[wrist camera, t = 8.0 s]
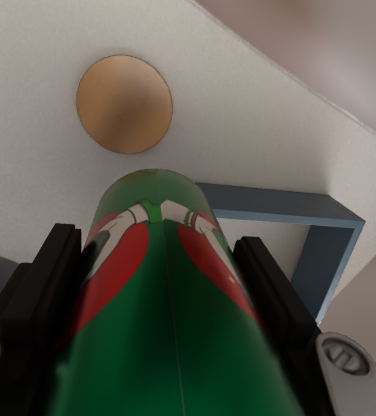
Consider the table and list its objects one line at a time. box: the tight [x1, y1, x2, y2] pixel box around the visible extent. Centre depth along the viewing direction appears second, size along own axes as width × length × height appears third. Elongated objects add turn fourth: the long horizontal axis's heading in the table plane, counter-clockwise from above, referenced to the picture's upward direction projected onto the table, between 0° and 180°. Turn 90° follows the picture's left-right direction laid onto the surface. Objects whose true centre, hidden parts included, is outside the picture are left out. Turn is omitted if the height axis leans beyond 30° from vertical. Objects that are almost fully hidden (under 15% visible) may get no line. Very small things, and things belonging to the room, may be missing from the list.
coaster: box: [77, 55, 172, 154], centre depth 25 cm, size 8×8×1 cm
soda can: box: [26, 169, 310, 416], centre depth 8 cm, size 5×5×12 cm
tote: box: [194, 182, 366, 327], centre depth 30 cm, size 18×14×6 cm
